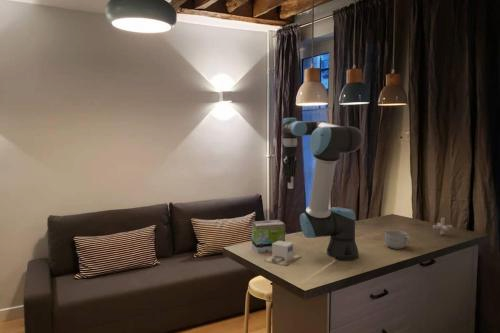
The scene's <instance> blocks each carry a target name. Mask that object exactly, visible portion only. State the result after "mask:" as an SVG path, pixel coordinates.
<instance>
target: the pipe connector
mask: <svg viewBox="0 0 500 333" xmlns="http://www.w3.org/2000/svg"><path fill="white" fill-rule="evenodd" d="M445 220H446V219H445V217H441V218H440V222H437V224H435V225H434V224H433V225H432V229H440V234H444V235H445V231H448V230H449V229H452V228H453V225H452V224H445Z"/></svg>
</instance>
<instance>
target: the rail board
mask: <svg viewBox="0 0 500 333" xmlns="http://www.w3.org/2000/svg"><path fill="white" fill-rule="evenodd" d="M294 252H295V251H293V256H294V258H292V259H290V260H289V261H284V258H282V257H278V256H277V257H275V258H272V255H271V256H269V257H267V258H265V259H263V261H264V262H266V263H272V264H276V265H281V266H283V267H284V266H285V267H288V266H289V265H290V264H293V263H294V262H296V261H297V260H299V259H301V258H302V256H301V255H297V254H295V253H294Z"/></svg>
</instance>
